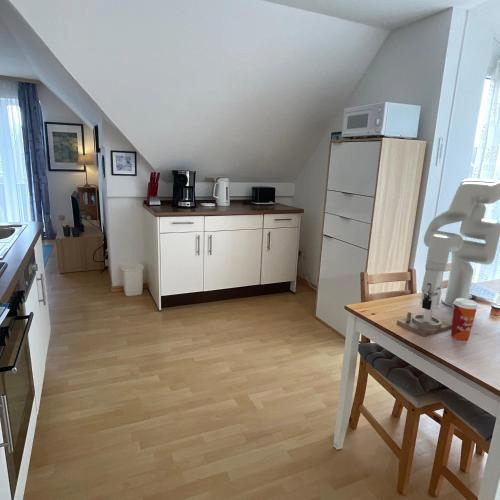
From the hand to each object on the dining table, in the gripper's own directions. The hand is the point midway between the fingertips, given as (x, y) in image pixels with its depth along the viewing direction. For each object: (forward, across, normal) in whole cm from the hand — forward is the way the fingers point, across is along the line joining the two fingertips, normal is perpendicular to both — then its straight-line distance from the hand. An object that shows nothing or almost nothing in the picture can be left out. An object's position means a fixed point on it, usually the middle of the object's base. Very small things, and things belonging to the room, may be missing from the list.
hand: (429, 305), depth 150 cm
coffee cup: (+9, +1, +13) cm, 16 cm away
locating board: (+9, 0, 0) cm, 9 cm away
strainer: (+6, 0, 0) cm, 6 cm away
